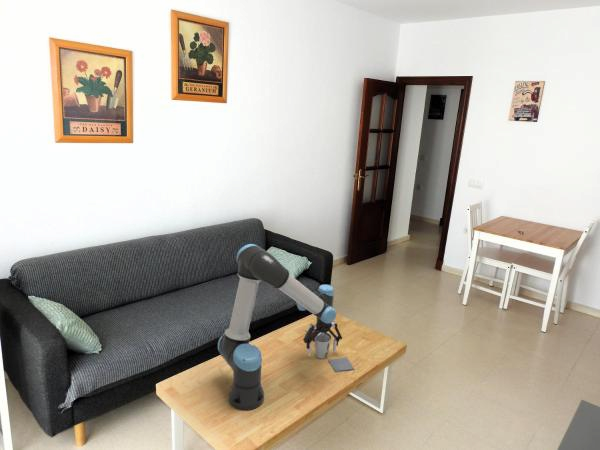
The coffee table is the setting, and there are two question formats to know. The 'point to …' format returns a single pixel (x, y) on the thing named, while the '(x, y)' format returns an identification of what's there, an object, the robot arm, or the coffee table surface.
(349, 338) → the coffee table surface
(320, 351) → the cup
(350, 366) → the coaster
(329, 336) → the figurine
